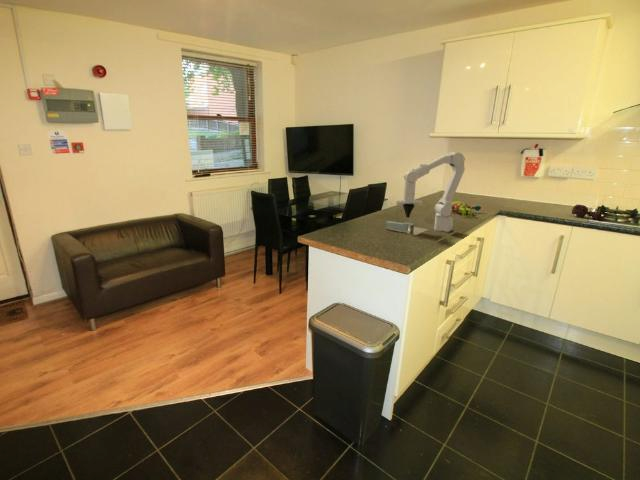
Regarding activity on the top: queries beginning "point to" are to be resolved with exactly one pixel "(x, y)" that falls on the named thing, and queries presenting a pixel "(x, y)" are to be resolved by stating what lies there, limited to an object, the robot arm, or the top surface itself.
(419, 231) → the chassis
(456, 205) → the toy
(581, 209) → the figurine
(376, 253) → the top surface
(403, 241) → the top surface
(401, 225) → the swing arm
